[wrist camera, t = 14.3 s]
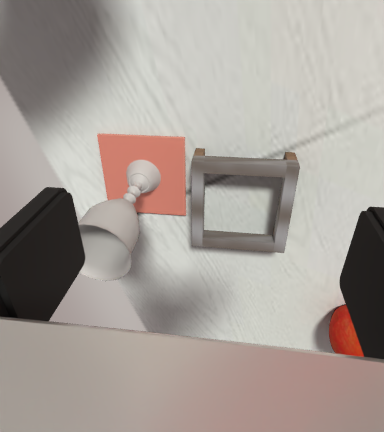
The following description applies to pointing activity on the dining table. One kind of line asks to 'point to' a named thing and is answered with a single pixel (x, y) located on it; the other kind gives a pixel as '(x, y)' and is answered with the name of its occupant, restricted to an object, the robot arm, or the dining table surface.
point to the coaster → (156, 154)
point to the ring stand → (249, 168)
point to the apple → (343, 333)
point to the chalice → (116, 226)
